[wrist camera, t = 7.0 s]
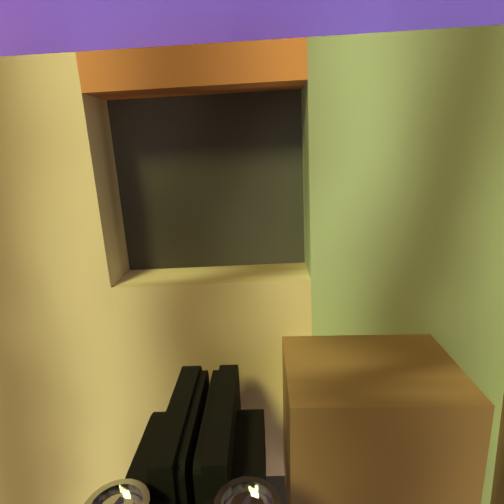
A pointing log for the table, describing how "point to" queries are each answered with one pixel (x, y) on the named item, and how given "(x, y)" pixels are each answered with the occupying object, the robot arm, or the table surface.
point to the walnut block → (381, 422)
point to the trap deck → (237, 230)
